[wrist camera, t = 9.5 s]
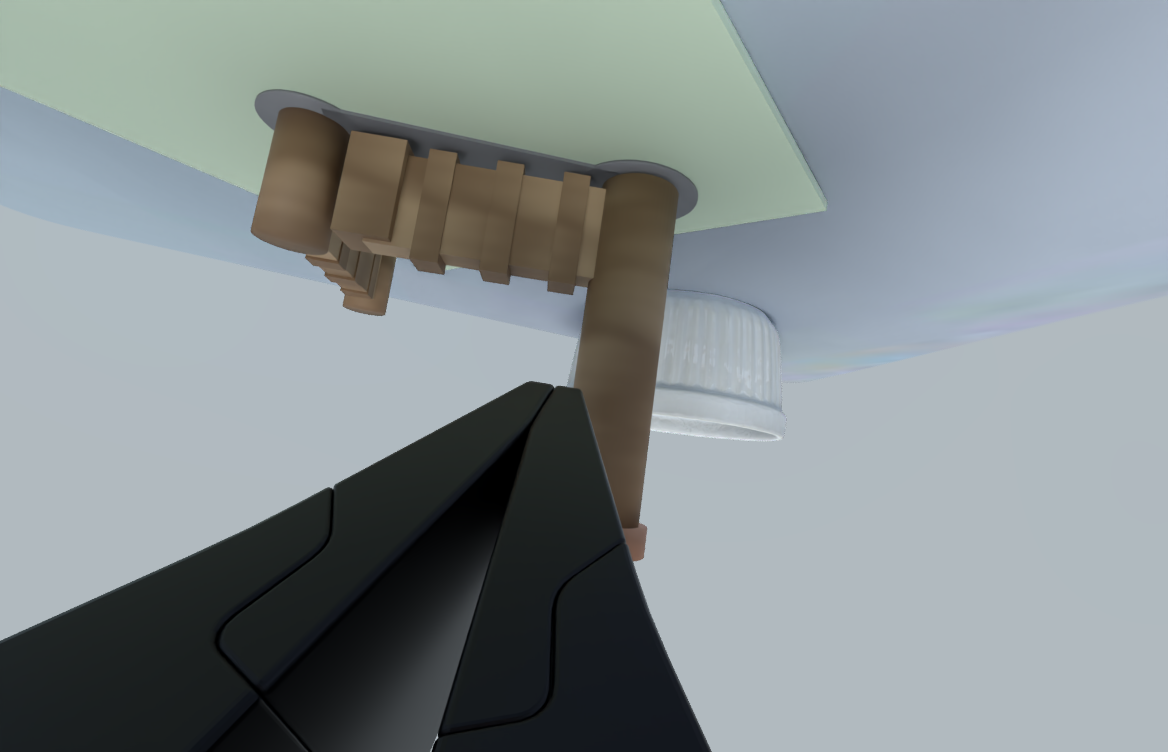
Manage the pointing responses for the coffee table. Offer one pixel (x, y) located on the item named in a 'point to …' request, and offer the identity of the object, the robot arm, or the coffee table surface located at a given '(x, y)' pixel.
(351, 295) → the fence fixed panel
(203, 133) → the card
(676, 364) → the ramekin
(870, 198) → the coffee table surface
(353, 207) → the fence swing panel
